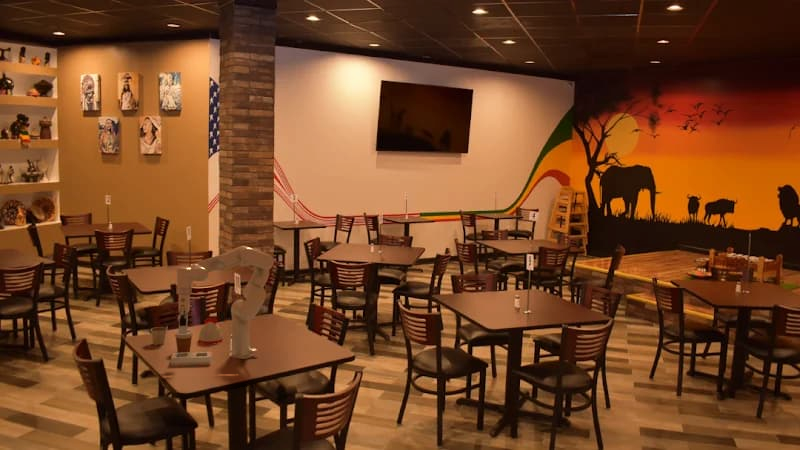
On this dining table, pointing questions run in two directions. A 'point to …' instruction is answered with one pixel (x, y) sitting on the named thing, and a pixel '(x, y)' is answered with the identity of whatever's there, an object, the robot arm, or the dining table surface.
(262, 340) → the dining table surface
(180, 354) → the panel
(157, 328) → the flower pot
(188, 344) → the disposable coffee cup
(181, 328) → the plug
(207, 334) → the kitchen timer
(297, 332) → the dining table surface
